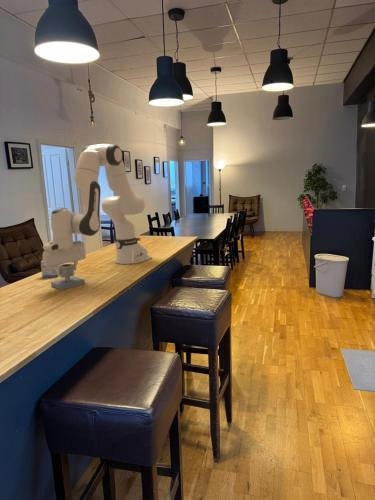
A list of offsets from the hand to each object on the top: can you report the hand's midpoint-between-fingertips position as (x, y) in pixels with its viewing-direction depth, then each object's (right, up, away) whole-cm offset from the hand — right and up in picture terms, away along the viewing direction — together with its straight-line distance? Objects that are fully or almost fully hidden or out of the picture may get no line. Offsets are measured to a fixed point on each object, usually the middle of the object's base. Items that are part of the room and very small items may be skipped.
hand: (66, 272), depth 166 cm
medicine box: (-14, -4, +18) cm, 23 cm away
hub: (0, -2, 0) cm, 2 cm away
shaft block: (0, -6, +2) cm, 7 cm away
